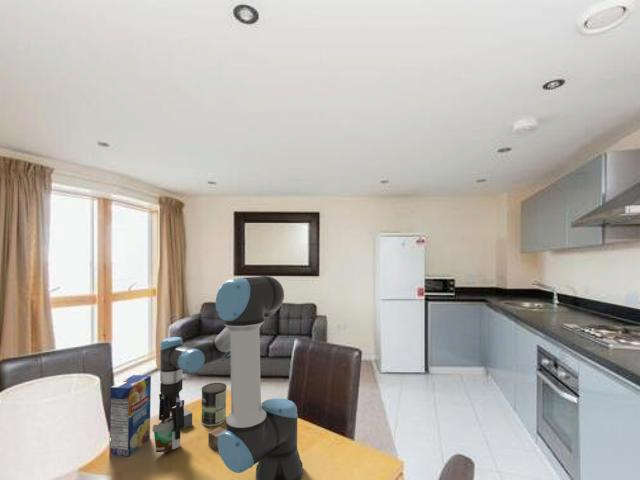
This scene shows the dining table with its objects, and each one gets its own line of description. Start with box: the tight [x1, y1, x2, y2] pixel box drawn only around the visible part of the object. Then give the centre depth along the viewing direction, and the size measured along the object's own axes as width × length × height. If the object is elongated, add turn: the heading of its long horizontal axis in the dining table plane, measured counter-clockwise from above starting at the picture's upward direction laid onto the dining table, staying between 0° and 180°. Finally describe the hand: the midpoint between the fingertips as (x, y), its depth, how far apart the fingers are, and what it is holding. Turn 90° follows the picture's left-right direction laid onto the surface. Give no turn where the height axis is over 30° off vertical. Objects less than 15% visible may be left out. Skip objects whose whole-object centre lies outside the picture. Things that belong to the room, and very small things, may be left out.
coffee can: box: [200, 382, 227, 427], centre depth 141 cm, size 10×10×14 cm
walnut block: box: [208, 426, 226, 451], centre depth 122 cm, size 5×5×5 cm
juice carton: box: [108, 374, 152, 458], centre depth 122 cm, size 12×8×24 cm, turn 172°
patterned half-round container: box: [152, 415, 182, 453], centre depth 120 cm, size 12×6×10 cm, turn 163°
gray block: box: [183, 408, 193, 429], centre depth 137 cm, size 5×5×5 cm
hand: (171, 444), depth 120 cm, fingers closed on patterned half-round container, 6 cm apart
